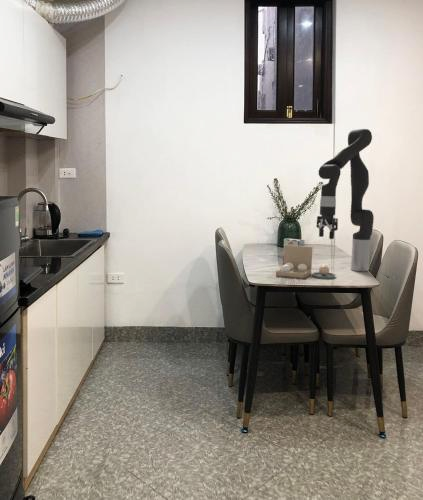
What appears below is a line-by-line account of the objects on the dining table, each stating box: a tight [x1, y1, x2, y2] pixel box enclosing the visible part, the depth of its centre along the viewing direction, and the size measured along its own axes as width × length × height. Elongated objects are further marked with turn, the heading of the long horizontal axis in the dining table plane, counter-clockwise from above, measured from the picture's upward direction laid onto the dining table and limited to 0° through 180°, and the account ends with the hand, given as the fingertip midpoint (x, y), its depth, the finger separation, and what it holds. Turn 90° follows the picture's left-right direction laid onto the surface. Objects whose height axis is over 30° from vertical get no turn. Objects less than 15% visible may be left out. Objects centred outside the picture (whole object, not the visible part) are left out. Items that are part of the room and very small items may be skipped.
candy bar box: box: [282, 238, 305, 266], centre depth 263 cm, size 11×5×16 cm, turn 40°
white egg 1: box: [280, 264, 291, 272], centre depth 245 cm, size 5×5×5 cm
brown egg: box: [318, 265, 330, 275], centre depth 243 cm, size 5×5×5 cm
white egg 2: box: [285, 262, 294, 270], centre depth 252 cm, size 5×5×5 cm
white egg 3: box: [297, 264, 307, 271], centre depth 249 cm, size 5×5×5 cm
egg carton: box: [275, 244, 313, 280], centre depth 247 cm, size 15×15×14 cm
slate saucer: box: [311, 271, 336, 280], centre depth 244 cm, size 11×11×1 cm
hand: (326, 237), depth 240 cm, fingers open, 8 cm apart
